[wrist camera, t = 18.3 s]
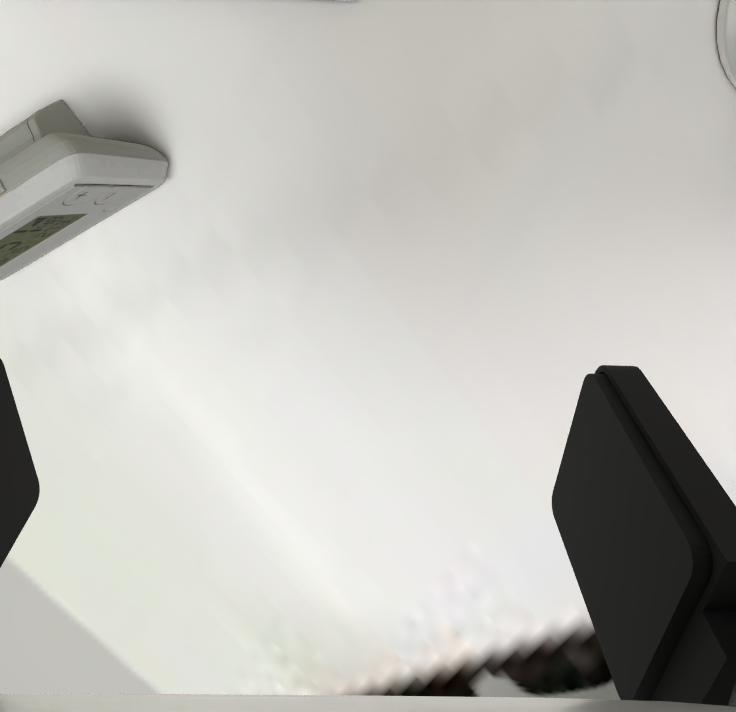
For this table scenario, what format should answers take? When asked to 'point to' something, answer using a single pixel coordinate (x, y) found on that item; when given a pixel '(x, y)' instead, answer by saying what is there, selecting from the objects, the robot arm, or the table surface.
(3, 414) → the robot arm
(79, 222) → the digital clock
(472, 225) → the table surface
